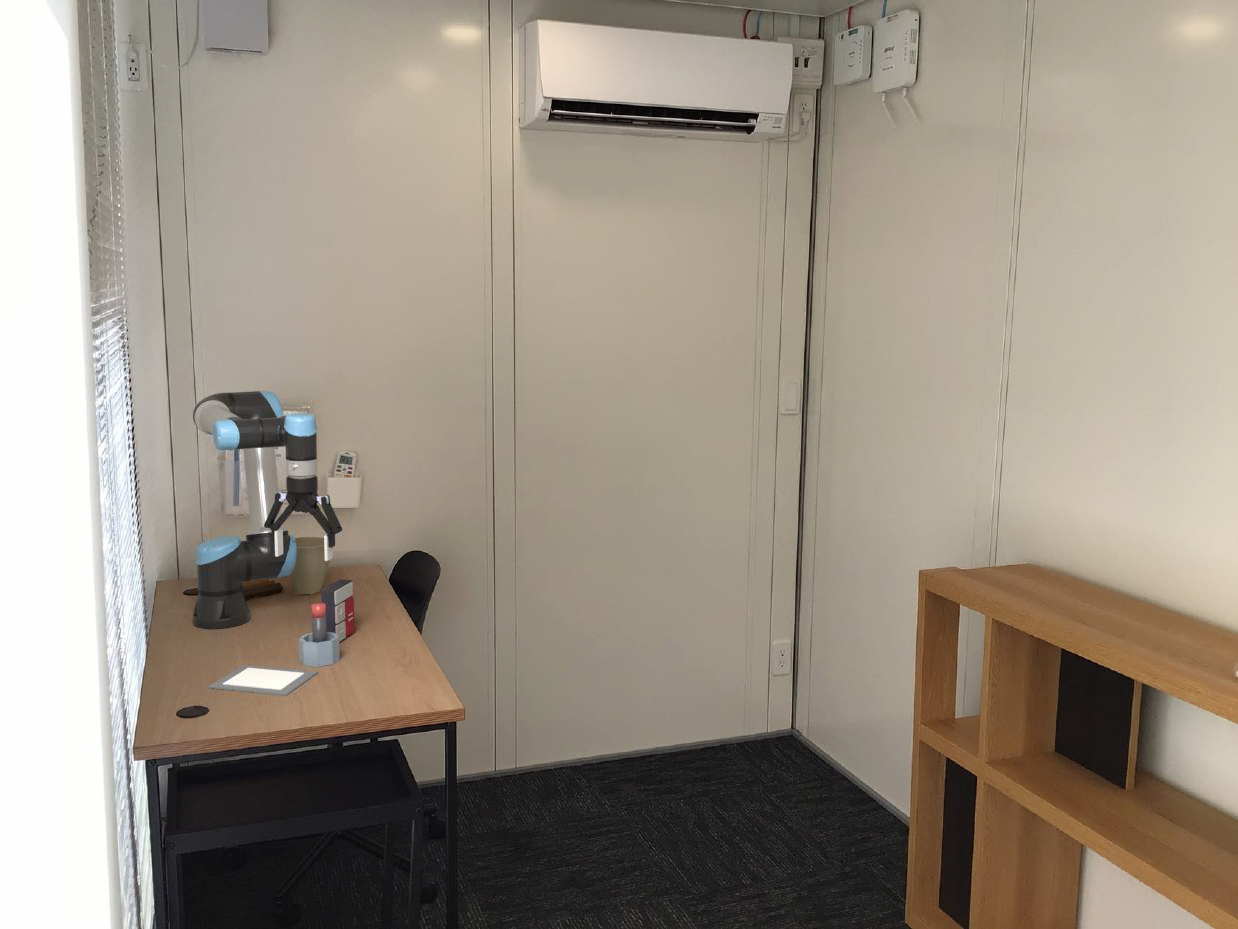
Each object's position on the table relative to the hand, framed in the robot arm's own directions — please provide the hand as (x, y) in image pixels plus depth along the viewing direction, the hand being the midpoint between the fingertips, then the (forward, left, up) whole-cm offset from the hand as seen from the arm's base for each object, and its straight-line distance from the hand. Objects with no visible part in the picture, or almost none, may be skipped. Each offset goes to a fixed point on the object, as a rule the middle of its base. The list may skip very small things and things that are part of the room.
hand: (303, 557), depth 263 cm
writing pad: (0, -21, -25) cm, 33 cm away
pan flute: (-51, +44, -26) cm, 73 cm away
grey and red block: (+3, +12, -25) cm, 28 cm away
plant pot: (-27, +51, -25) cm, 63 cm away
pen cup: (+6, -5, -25) cm, 26 cm away
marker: (+6, -5, -25) cm, 26 cm away
